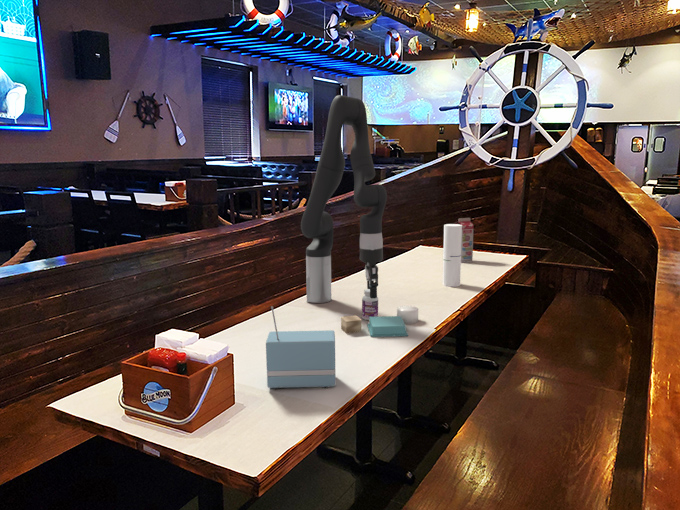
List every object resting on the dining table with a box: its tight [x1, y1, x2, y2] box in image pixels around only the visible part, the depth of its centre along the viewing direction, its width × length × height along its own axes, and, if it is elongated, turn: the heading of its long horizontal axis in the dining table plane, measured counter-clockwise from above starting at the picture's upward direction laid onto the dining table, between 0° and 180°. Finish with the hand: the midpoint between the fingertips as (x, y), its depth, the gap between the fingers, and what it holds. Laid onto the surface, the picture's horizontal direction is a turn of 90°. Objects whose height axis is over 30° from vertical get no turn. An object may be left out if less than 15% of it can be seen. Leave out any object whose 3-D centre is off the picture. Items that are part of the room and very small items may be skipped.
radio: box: [265, 306, 337, 390], centre depth 127 cm, size 16×9×20 cm, turn 92°
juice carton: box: [455, 217, 474, 264], centre depth 270 cm, size 7×7×22 cm
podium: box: [367, 315, 409, 338], centre depth 165 cm, size 11×11×3 cm
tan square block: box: [340, 315, 363, 335], centre depth 166 cm, size 5×5×4 cm
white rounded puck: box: [396, 305, 419, 325], centre depth 175 cm, size 7×7×4 cm
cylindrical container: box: [442, 223, 462, 288], centre depth 221 cm, size 7×7×25 cm
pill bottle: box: [361, 288, 379, 321], centre depth 177 cm, size 5×5×10 cm
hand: (372, 294), depth 177 cm, fingers open, 8 cm apart
